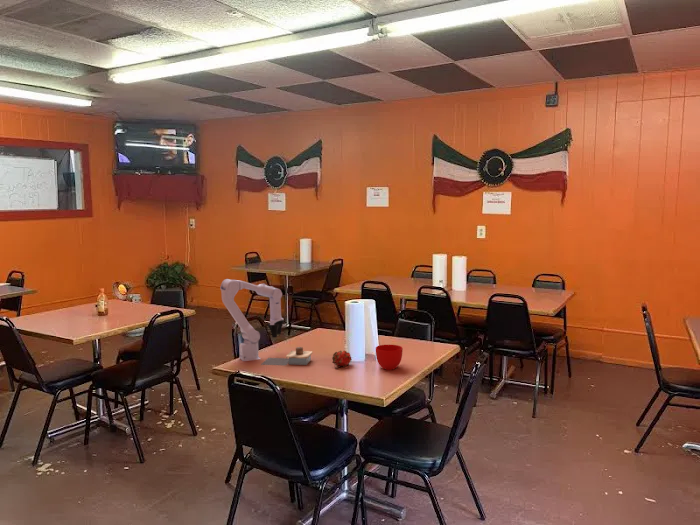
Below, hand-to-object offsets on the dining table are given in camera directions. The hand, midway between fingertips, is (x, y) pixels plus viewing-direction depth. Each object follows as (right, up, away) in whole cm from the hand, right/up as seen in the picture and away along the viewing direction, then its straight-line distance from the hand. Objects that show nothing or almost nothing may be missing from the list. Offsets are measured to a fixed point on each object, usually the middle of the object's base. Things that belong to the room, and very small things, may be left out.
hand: (276, 335), depth 290 cm
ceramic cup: (+59, -12, -25) cm, 65 cm away
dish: (+14, -12, -16) cm, 24 cm away
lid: (+14, -8, -16) cm, 23 cm away
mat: (+2, -12, -14) cm, 19 cm away
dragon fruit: (+35, -12, -22) cm, 43 cm away
